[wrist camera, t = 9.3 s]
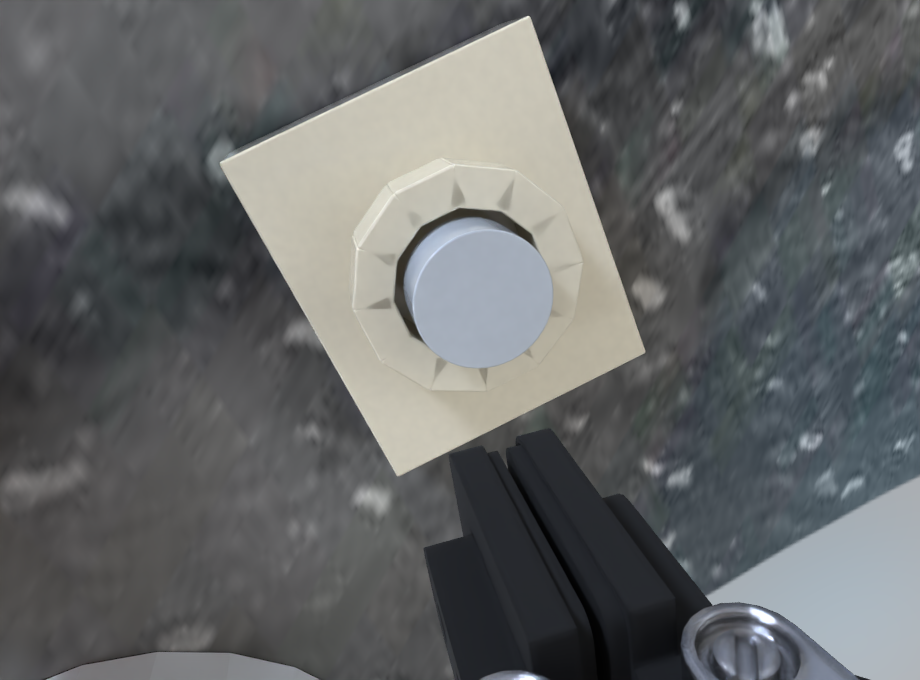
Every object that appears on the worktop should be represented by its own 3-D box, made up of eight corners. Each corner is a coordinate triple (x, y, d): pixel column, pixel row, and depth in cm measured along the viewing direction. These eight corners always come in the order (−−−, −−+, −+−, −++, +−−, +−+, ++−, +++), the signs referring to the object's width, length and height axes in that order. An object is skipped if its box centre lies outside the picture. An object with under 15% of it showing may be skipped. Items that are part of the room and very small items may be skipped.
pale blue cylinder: (379, 252, 20) (387, 270, 18) (503, 192, 20) (523, 204, 18) (435, 365, 21) (448, 392, 20) (549, 308, 22) (573, 330, 20)
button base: (228, 153, 22) (209, 171, 18) (502, 22, 23) (553, 7, 18) (388, 437, 27) (405, 509, 22) (612, 326, 27) (674, 374, 23)
